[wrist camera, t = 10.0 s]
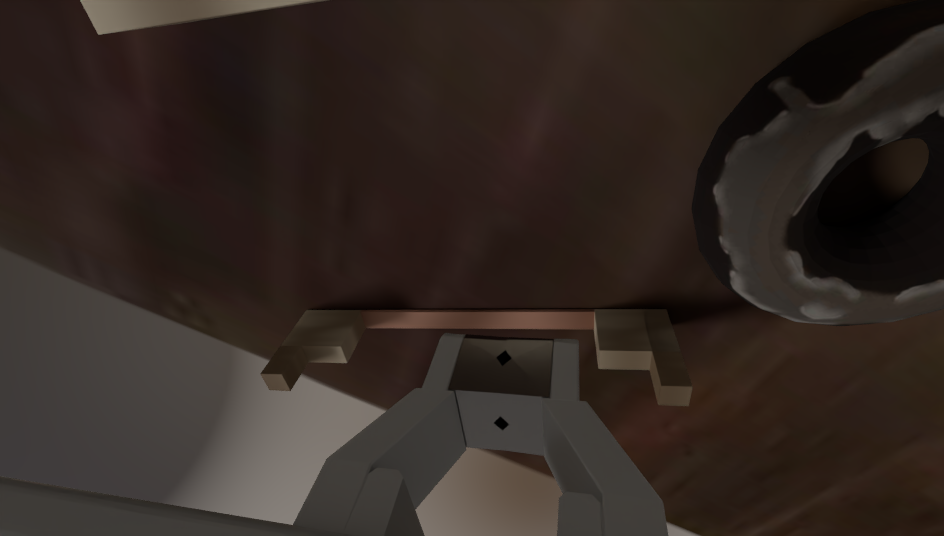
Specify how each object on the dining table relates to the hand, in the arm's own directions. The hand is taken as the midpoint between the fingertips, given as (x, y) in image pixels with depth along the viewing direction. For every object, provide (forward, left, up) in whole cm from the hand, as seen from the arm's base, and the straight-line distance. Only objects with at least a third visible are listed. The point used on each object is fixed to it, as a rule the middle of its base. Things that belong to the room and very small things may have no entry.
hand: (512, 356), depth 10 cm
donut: (-12, +1, -12) cm, 17 cm away
